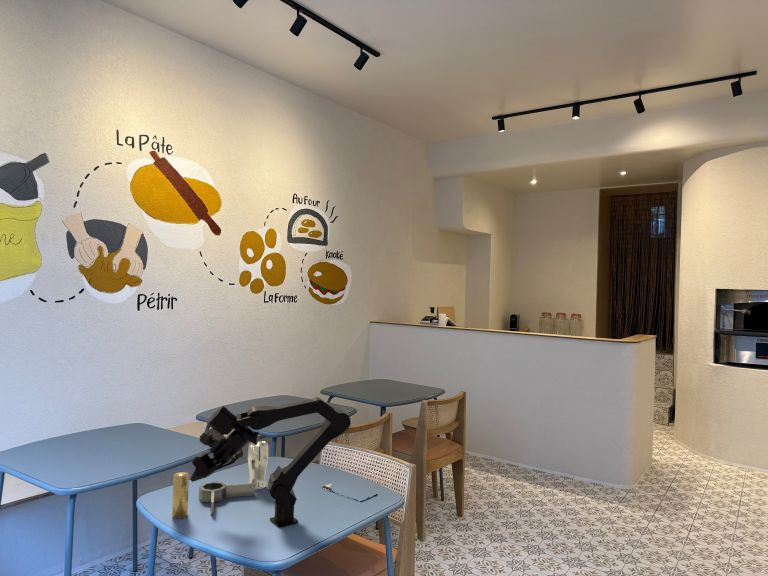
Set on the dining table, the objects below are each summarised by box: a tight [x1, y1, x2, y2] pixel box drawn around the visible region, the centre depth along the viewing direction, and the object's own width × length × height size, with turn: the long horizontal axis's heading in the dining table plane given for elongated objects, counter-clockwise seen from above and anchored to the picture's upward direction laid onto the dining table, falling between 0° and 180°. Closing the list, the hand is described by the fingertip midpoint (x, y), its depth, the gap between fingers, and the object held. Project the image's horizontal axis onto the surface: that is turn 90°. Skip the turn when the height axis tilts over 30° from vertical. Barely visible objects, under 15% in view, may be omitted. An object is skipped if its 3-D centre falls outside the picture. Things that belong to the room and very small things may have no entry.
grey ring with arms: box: [198, 481, 256, 516], centre depth 178 cm, size 17×18×4 cm
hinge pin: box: [171, 471, 190, 519], centre depth 165 cm, size 4×4×12 cm
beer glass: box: [247, 440, 269, 491], centre depth 191 cm, size 7×7×15 cm
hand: (201, 475), depth 163 cm, fingers open, 9 cm apart
